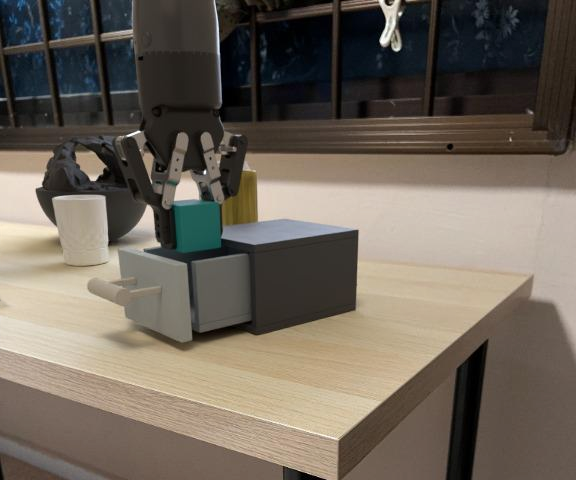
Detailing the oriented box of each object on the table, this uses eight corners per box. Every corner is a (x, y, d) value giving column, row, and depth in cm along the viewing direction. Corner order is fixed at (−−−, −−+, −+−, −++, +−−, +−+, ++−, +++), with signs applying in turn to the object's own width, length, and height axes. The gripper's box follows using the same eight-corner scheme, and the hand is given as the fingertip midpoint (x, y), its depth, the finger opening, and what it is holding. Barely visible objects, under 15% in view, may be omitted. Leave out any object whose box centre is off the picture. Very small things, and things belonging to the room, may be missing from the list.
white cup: (111, 256, 102) (104, 194, 98) (114, 265, 95) (106, 198, 91) (62, 259, 100) (52, 195, 96) (60, 268, 93) (50, 200, 89)
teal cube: (183, 253, 58) (180, 205, 56) (160, 247, 61) (156, 202, 60) (221, 247, 61) (219, 202, 59) (197, 242, 64) (194, 199, 62)
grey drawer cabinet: (256, 335, 62) (254, 244, 58) (189, 310, 71) (184, 230, 67) (356, 309, 71) (359, 229, 67) (285, 290, 79) (284, 218, 76)
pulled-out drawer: (135, 354, 54) (126, 272, 51) (81, 326, 62) (71, 254, 59) (290, 316, 65) (290, 247, 62) (228, 296, 73) (225, 234, 70)
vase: (270, 275, 87) (269, 170, 82) (238, 283, 83) (234, 173, 78) (242, 269, 91) (239, 169, 86) (210, 276, 87) (204, 171, 82)
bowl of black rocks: (154, 248, 108) (143, 134, 101) (35, 253, 105) (16, 135, 97) (153, 232, 126) (144, 134, 119) (52, 236, 123) (37, 135, 116)
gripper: (219, 60, 61) (227, 233, 68) (83, 50, 53) (107, 249, 59) (266, 53, 56) (269, 241, 63) (123, 40, 47) (145, 260, 54)
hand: (190, 244), depth 61 cm, fingers closed on teal cube, 4 cm apart
